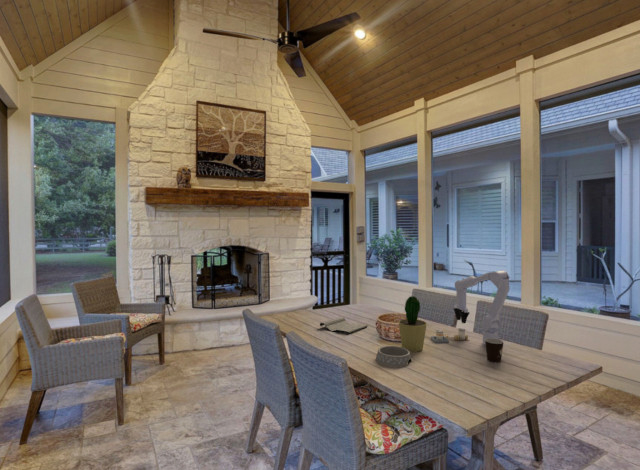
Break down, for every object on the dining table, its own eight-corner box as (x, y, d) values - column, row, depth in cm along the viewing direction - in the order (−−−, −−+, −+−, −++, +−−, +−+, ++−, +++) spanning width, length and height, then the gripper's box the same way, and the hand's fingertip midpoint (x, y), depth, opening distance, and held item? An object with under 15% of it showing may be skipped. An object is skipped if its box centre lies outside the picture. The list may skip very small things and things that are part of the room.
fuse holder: (470, 342, 224) (470, 336, 224) (447, 342, 223) (447, 337, 223) (465, 338, 231) (465, 333, 231) (443, 338, 230) (443, 333, 230)
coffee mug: (492, 364, 189) (493, 344, 188) (481, 358, 197) (481, 339, 197) (512, 361, 192) (512, 342, 192) (499, 356, 200) (500, 337, 200)
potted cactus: (415, 355, 202) (415, 299, 201) (392, 347, 214) (393, 295, 213) (432, 348, 212) (432, 295, 211) (409, 342, 223) (410, 291, 223)
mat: (348, 336, 238) (348, 328, 237) (319, 329, 252) (319, 322, 252) (368, 328, 256) (368, 321, 256) (339, 322, 270) (339, 316, 270)
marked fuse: (444, 342, 222) (444, 332, 222) (437, 342, 222) (437, 332, 222) (441, 340, 226) (441, 330, 226) (435, 340, 226) (435, 330, 226)
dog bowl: (415, 358, 197) (415, 348, 197) (404, 370, 182) (404, 359, 181) (384, 352, 206) (384, 343, 206) (371, 363, 190) (371, 352, 190)
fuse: (466, 340, 225) (466, 330, 225) (459, 340, 225) (460, 330, 225) (463, 338, 229) (463, 328, 229) (457, 338, 229) (457, 328, 229)
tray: (448, 344, 220) (448, 340, 220) (435, 344, 220) (435, 340, 220) (443, 339, 228) (443, 336, 228) (430, 340, 228) (430, 336, 228)
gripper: (450, 297, 240) (450, 318, 240) (459, 302, 225) (459, 324, 226) (461, 297, 240) (460, 318, 240) (471, 302, 226) (471, 324, 226)
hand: (461, 321), depth 233 cm, fingers open, 7 cm apart
